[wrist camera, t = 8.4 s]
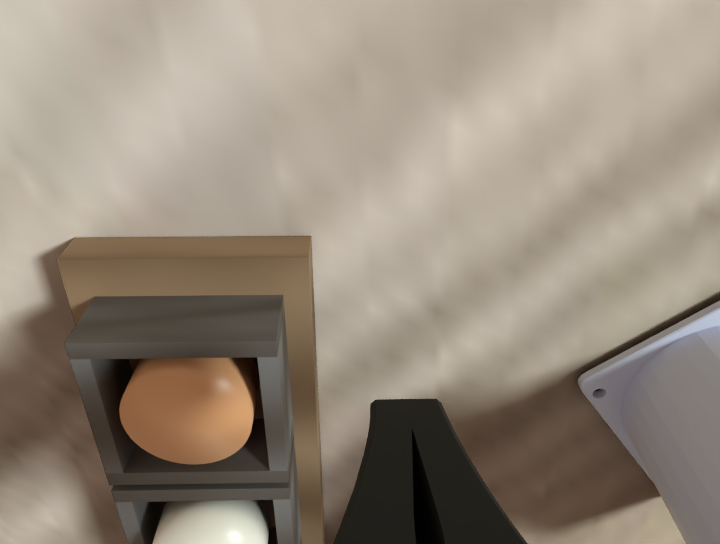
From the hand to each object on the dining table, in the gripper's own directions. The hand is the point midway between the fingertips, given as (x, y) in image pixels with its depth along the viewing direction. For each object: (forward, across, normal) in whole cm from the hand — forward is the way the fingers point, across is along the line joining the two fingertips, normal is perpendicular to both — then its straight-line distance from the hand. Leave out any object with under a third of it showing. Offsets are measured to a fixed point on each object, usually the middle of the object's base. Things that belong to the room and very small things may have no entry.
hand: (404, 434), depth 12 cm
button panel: (+9, +6, +11) cm, 16 cm away
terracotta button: (+7, +6, +5) cm, 11 cm away
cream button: (+6, +6, +11) cm, 14 cm away
